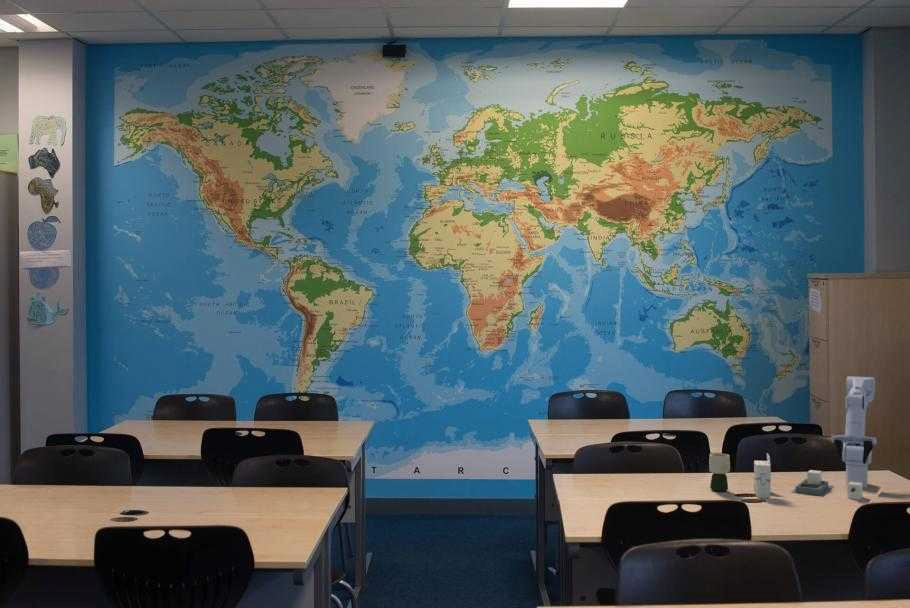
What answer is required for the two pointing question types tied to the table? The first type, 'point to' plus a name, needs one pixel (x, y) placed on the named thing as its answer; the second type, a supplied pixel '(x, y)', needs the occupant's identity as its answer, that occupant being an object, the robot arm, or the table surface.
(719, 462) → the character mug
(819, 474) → the twin plug
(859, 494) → the plug
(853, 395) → the robot arm
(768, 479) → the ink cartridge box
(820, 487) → the grey rectangular tray
